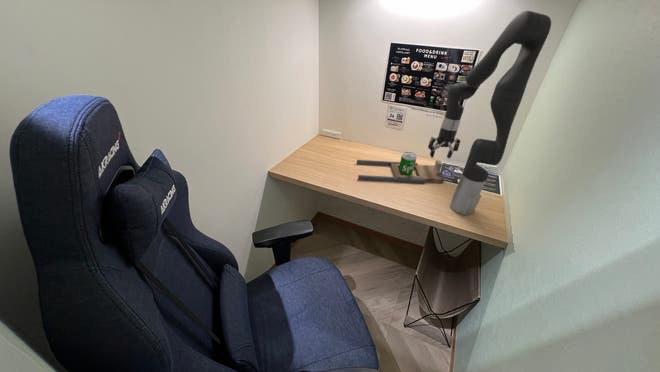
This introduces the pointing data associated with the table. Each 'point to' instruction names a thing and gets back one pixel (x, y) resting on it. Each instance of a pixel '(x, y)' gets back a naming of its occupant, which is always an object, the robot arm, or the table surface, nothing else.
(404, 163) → the soda can
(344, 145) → the table surface
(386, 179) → the lane rails
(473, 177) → the robot arm
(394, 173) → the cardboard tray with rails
